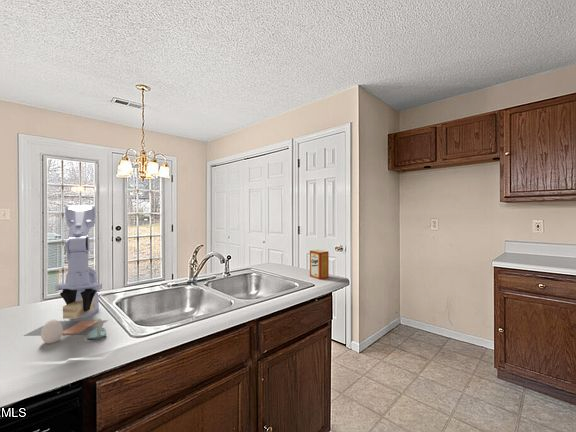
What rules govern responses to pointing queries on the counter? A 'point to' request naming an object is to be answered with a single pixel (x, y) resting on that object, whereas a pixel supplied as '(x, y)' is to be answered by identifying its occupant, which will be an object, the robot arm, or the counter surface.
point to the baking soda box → (319, 264)
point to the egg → (51, 331)
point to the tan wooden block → (76, 309)
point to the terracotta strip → (79, 327)
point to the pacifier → (97, 332)
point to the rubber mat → (65, 326)
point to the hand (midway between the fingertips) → (79, 310)
